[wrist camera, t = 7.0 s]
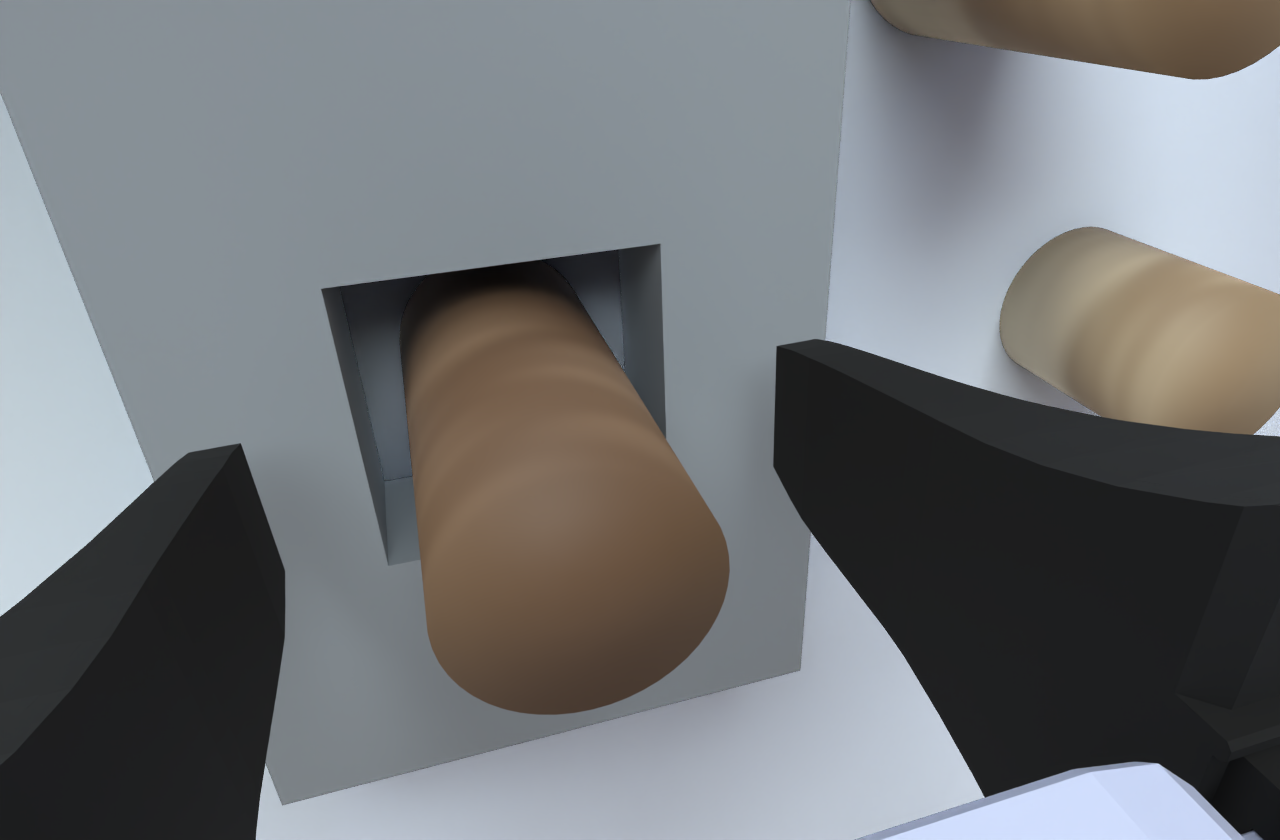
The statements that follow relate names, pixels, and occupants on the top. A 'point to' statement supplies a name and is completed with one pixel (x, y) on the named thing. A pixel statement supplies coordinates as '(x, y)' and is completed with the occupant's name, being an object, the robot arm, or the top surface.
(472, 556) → the tall dowel
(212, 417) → the hole board
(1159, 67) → the mid dowel
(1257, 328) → the short dowel
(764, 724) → the top surface
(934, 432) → the robot arm
